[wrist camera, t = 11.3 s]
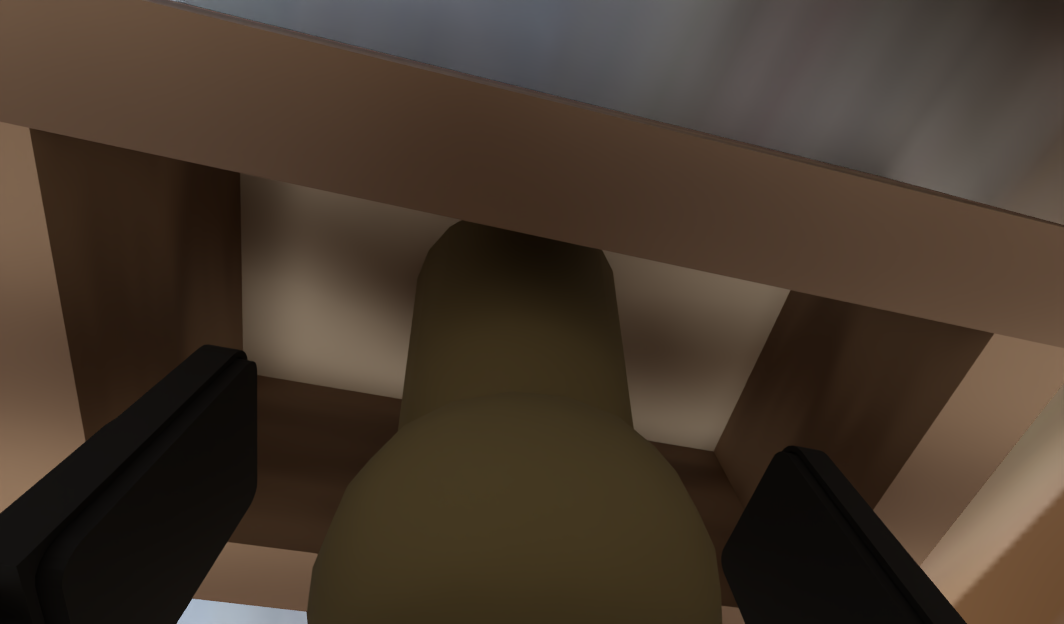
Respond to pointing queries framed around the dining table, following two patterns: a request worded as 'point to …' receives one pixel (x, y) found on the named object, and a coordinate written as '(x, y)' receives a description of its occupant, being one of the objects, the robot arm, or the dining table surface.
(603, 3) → the dining table surface
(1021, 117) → the dining table surface
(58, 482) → the robot arm
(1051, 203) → the dining table surface
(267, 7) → the dining table surface
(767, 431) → the walnut well caddy
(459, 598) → the olive brown gourd shape
